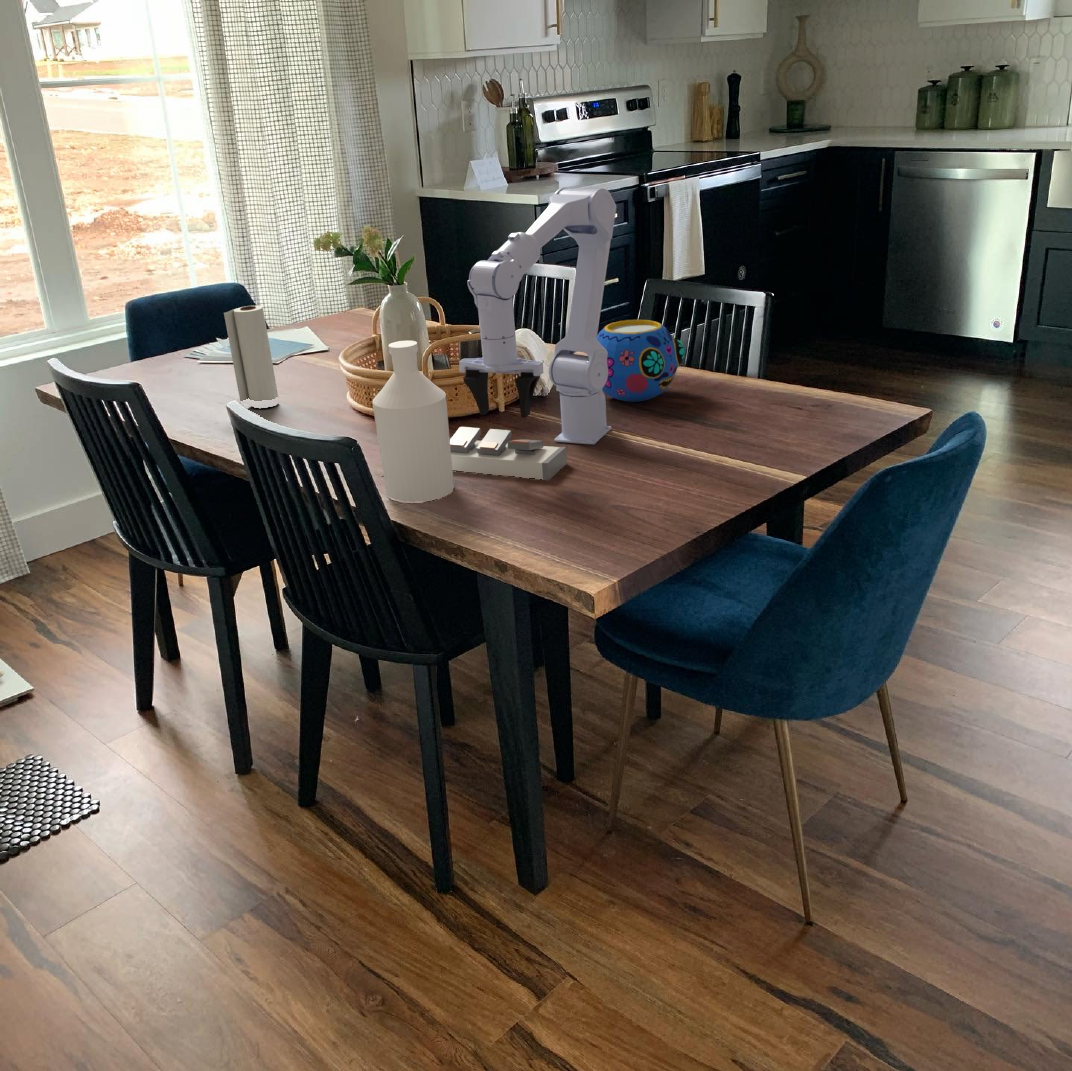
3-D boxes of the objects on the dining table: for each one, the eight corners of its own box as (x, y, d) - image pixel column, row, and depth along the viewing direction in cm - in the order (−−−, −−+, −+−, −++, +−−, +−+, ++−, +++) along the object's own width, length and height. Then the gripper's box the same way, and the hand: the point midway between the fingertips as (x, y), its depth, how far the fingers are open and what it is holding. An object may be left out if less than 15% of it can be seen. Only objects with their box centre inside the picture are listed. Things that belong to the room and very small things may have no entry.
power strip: (421, 450, 198) (418, 432, 196) (566, 463, 186) (565, 444, 185) (398, 466, 191) (396, 447, 189) (548, 480, 179) (547, 460, 178)
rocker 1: (461, 432, 191) (459, 425, 190) (481, 433, 189) (479, 427, 189) (447, 451, 187) (445, 444, 186) (467, 453, 185) (465, 446, 184)
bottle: (370, 493, 179) (350, 347, 169) (425, 473, 187) (408, 331, 177) (414, 510, 171) (396, 357, 161) (470, 487, 179) (455, 340, 169)
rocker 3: (522, 446, 187) (522, 438, 186) (543, 447, 185) (543, 439, 185) (507, 448, 181) (507, 440, 181) (529, 450, 180) (529, 442, 179)
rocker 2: (491, 434, 189) (490, 427, 188) (512, 436, 187) (510, 429, 186) (477, 453, 185) (476, 447, 184) (498, 455, 183) (497, 448, 182)
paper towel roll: (283, 401, 234) (266, 303, 225) (274, 409, 229) (257, 310, 220) (251, 402, 235) (233, 305, 226) (241, 410, 229) (223, 311, 221)
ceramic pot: (650, 416, 207) (648, 340, 201) (575, 404, 217) (571, 331, 211) (695, 392, 220) (694, 319, 213) (622, 382, 230) (619, 313, 224)
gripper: (447, 340, 175) (456, 419, 180) (529, 343, 169) (535, 424, 175) (466, 329, 180) (474, 406, 186) (545, 332, 175) (551, 411, 180)
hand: (505, 414), depth 181 cm, fingers open, 7 cm apart
